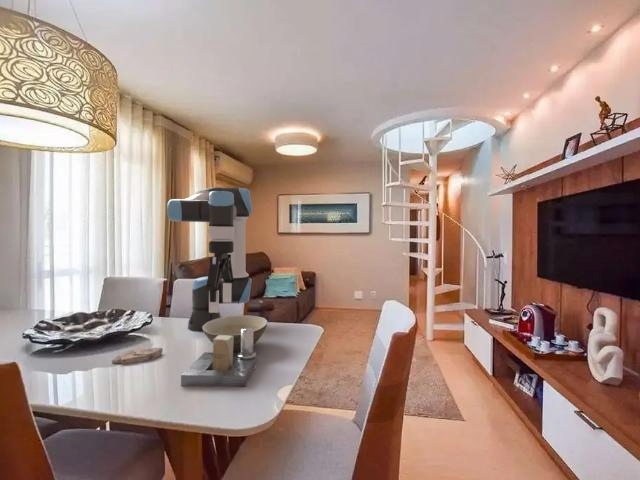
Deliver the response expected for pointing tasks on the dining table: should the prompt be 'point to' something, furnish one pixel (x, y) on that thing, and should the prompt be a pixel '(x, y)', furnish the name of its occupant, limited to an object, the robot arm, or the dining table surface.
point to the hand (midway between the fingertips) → (220, 307)
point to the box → (222, 353)
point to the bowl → (235, 328)
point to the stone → (138, 355)
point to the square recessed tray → (218, 372)
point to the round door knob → (246, 344)
